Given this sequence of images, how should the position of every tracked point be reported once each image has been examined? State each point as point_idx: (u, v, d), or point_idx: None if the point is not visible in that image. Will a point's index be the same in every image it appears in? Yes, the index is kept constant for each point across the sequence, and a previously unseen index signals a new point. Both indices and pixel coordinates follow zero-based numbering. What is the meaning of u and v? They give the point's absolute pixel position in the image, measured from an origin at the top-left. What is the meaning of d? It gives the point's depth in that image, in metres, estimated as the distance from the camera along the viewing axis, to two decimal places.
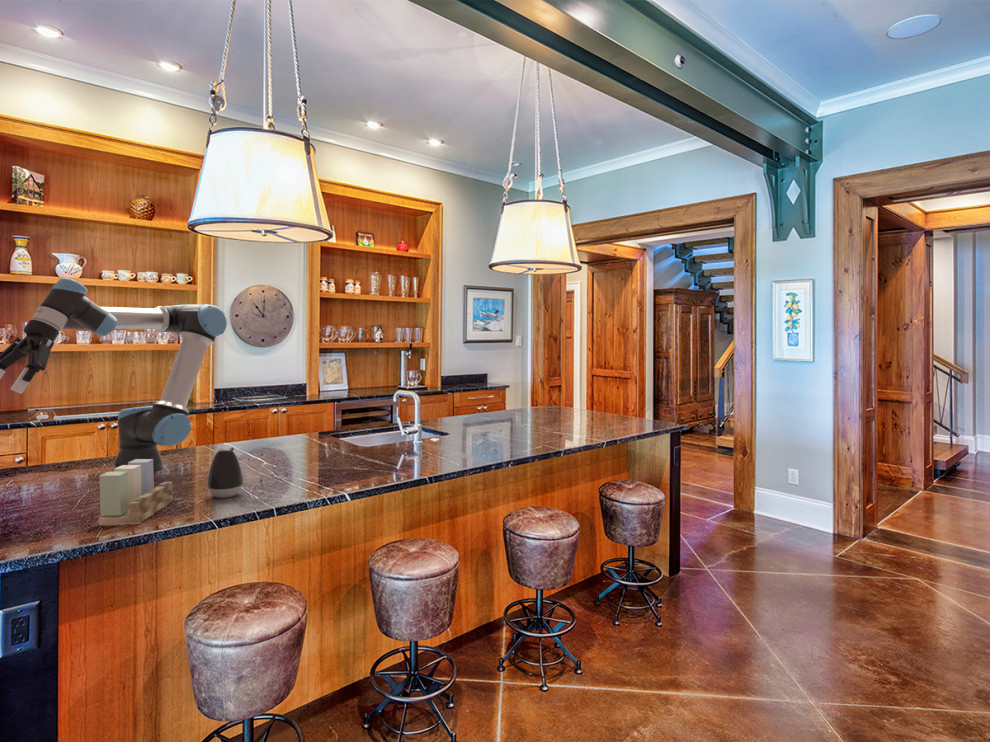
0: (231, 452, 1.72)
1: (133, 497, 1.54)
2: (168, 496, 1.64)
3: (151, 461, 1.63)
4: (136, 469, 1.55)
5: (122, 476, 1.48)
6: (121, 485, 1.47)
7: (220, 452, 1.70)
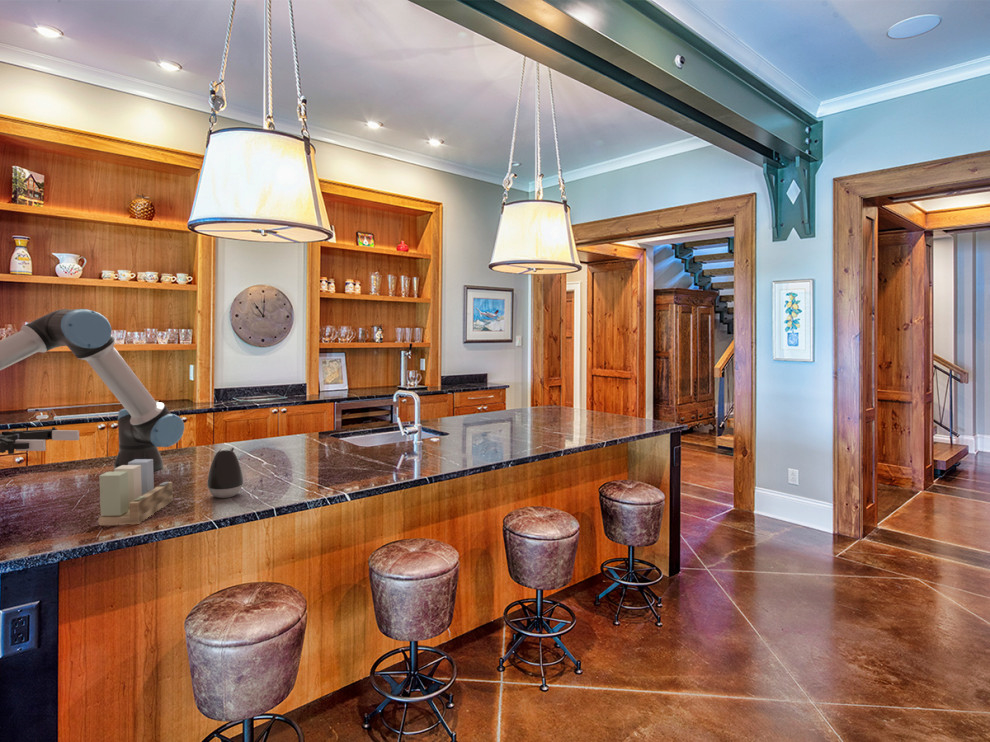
0: (231, 452, 1.72)
1: (133, 497, 1.54)
2: (168, 496, 1.64)
3: (151, 461, 1.63)
4: (136, 469, 1.55)
5: (122, 476, 1.48)
6: (121, 485, 1.47)
7: (220, 452, 1.70)
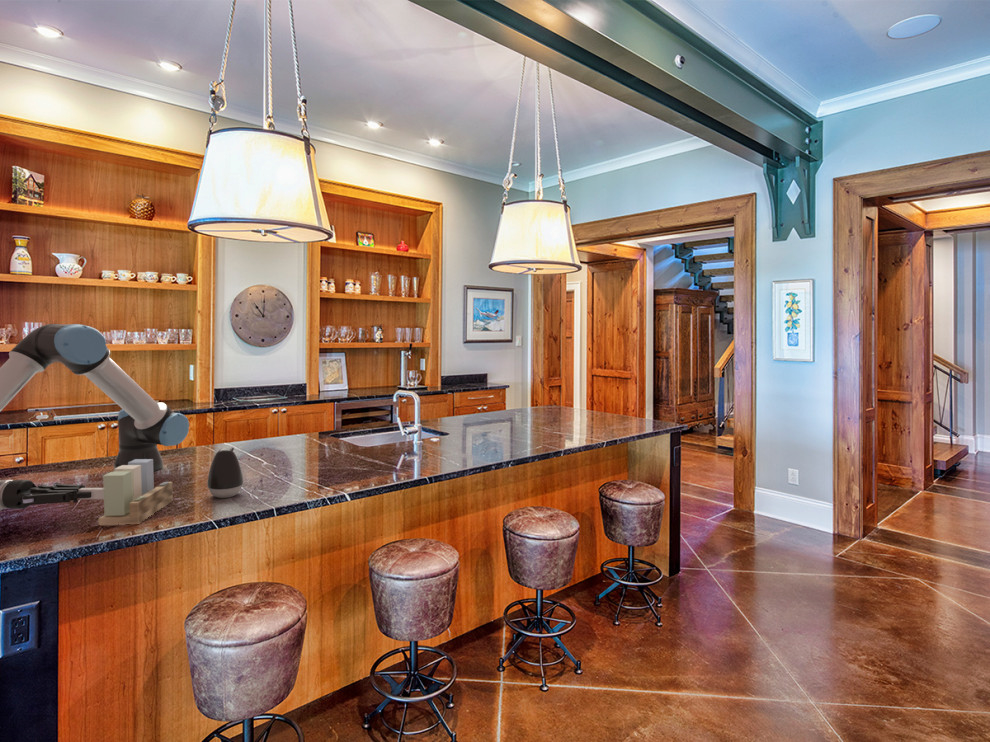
0: (231, 452, 1.72)
1: (133, 497, 1.54)
2: (168, 496, 1.64)
3: (151, 461, 1.63)
4: (136, 469, 1.55)
5: (126, 476, 1.48)
6: (125, 485, 1.47)
7: (220, 452, 1.70)
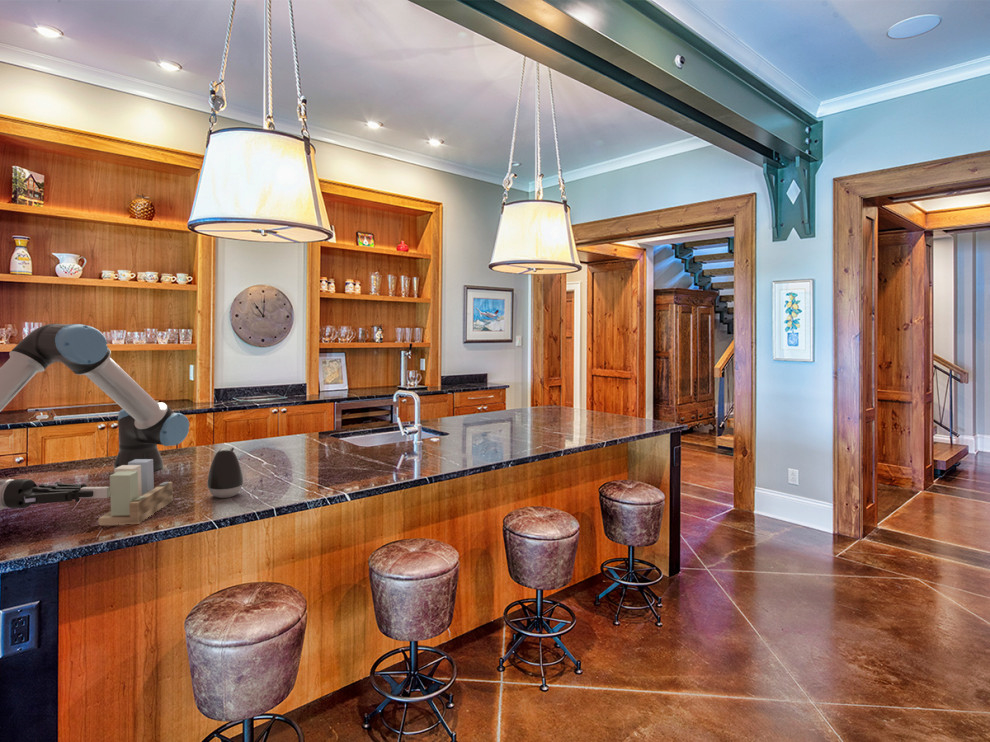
0: (231, 452, 1.72)
1: None
2: (168, 496, 1.64)
3: (151, 461, 1.63)
4: (136, 469, 1.55)
5: (132, 476, 1.48)
6: (131, 485, 1.48)
7: (220, 452, 1.70)
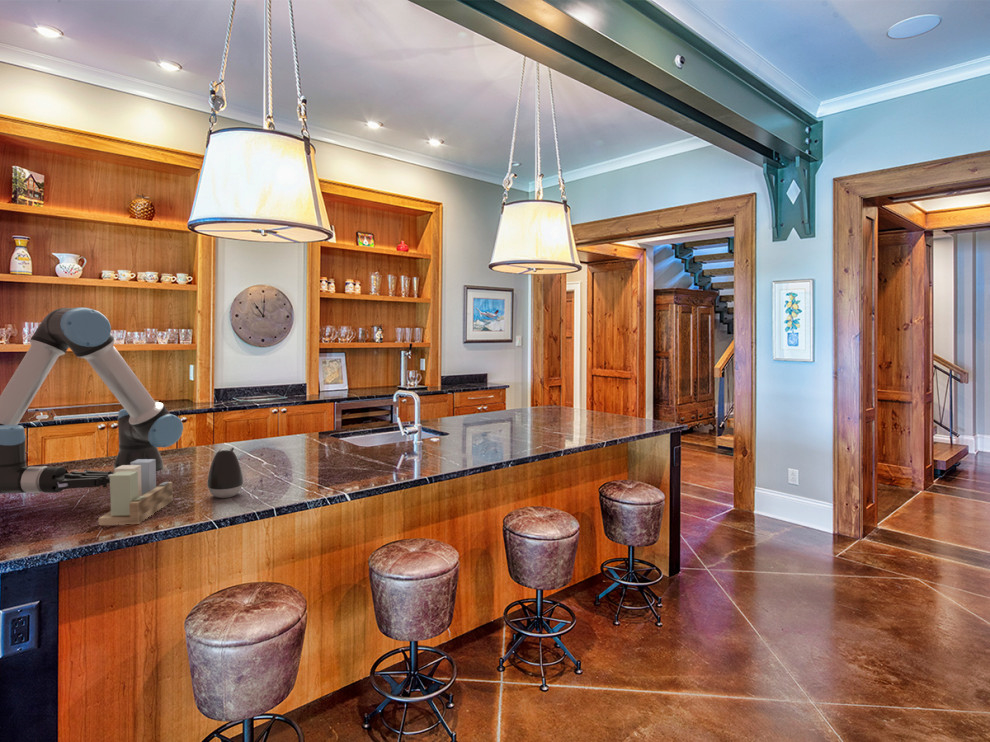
0: (231, 452, 1.72)
1: None
2: (168, 496, 1.64)
3: (153, 461, 1.63)
4: (136, 469, 1.55)
5: (132, 476, 1.48)
6: (131, 485, 1.48)
7: (220, 452, 1.70)
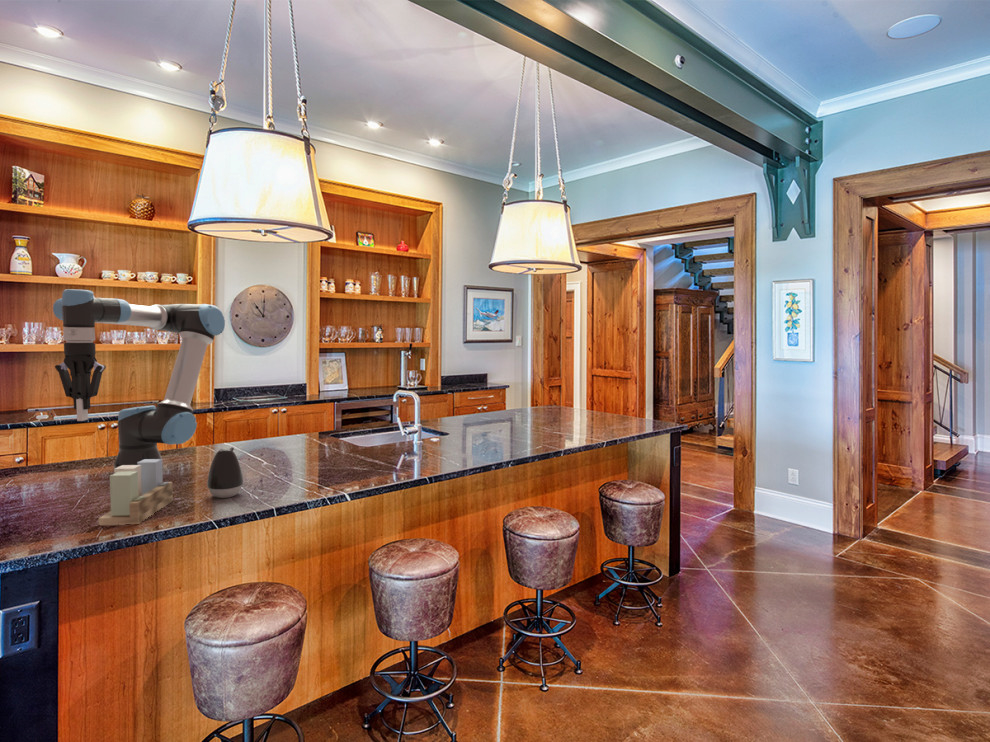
0: (231, 452, 1.72)
1: None
2: (168, 496, 1.64)
3: (160, 461, 1.64)
4: (136, 469, 1.55)
5: (132, 476, 1.48)
6: (131, 485, 1.48)
7: (220, 452, 1.70)
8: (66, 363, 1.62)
